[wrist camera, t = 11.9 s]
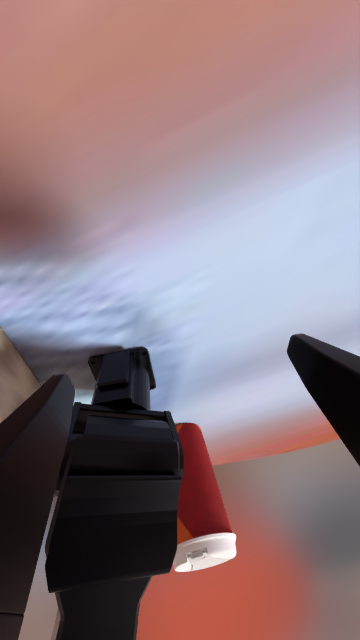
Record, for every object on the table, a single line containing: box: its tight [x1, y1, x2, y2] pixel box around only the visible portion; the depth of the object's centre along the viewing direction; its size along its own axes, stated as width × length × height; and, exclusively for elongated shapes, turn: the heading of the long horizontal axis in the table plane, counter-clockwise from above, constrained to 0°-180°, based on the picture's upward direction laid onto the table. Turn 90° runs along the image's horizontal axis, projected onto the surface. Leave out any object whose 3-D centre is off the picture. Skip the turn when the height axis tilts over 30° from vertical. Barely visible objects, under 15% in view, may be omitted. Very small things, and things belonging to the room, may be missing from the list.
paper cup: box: [173, 423, 236, 572], centre depth 28 cm, size 8×8×14 cm
